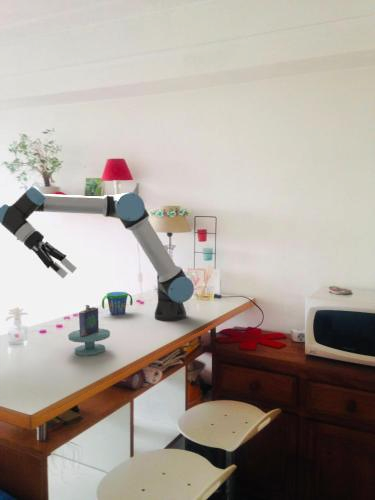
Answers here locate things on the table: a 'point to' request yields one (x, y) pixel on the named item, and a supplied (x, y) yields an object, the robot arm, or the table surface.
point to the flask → (88, 321)
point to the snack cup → (117, 302)
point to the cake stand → (89, 342)
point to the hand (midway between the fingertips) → (70, 273)
